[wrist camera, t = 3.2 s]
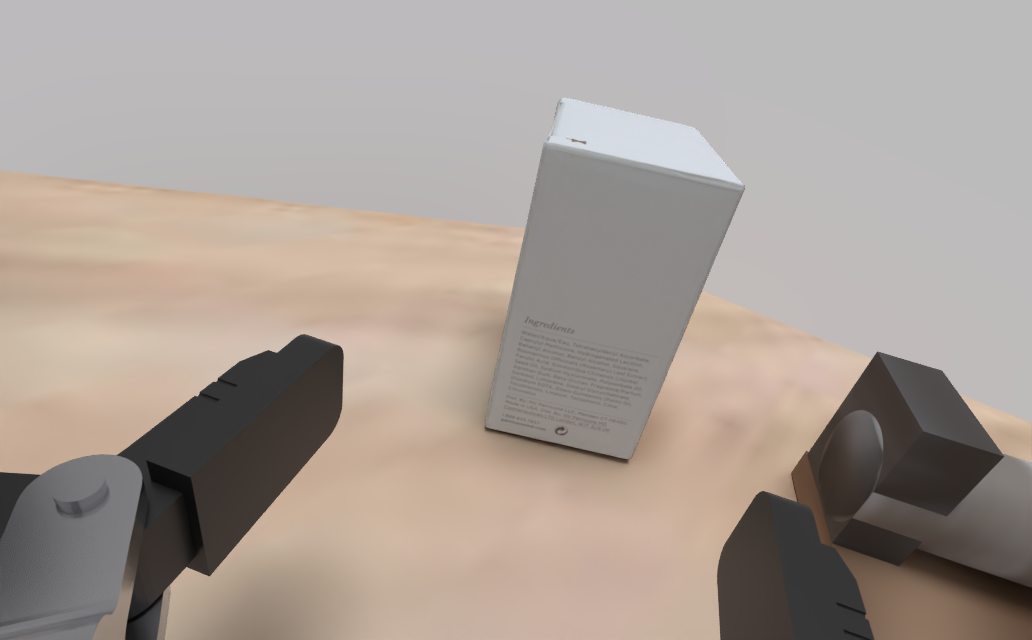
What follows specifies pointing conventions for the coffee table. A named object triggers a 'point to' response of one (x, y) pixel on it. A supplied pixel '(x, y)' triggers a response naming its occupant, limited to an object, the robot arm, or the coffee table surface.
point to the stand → (923, 509)
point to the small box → (607, 275)
